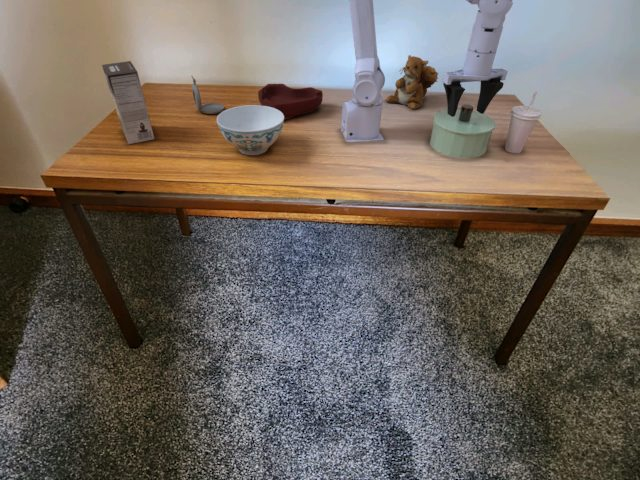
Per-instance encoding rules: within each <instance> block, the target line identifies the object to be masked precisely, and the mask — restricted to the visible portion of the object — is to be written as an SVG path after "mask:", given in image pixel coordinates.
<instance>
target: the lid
mask: <svg viewBox="0 0 640 480" xmlns="http://www.w3.org/2000/svg"><path fill="white" fill-rule="evenodd" d="M447 113H448V108H447V109H446V108H445V109H442V110H439V111H437V112H435V113H434V114H433V118H432V120H433V123H434V122H435V123H436V124H437V125H438V126H439V127H441V128H443V129H446V130H448V131H452V132H455V133H460V134H469V135H478V134H485V133H489V132H491V131H492V132H493V131H494V130H495V129H496V127H497V123H496V121H495V120H494V119H493V118H492V117H491V116H489V115H487V114H485V113H484V114H481V113H479V112H478V111H476V110H474V106H473V105H472V104H462V105H461V107H460V108H457V112H456V114H455V117H451V116H450V115H449V114H447Z"/></svg>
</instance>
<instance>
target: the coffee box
mask: <svg viewBox="0 0 640 480" xmlns="http://www.w3.org/2000/svg"><path fill="white" fill-rule="evenodd" d="M101 67H102V70H103V74H104V77H105V79H106V83H107V87H108V90H109V93H110V96H111V100H112V102H113V106H114V108H115V111H116V115H117V118H118V120H119V124H120V127H121V129H122V132H123V134H124V137H125V139H126V142H127V144H128V145H134V144H138V143H144V142H147V141H152V140H155V139H156V138H155V134H154V131H153V126H152V123H151V119H150V116H149V112H148V108H147V104H146V99H145V96H144V92H143V88H142V83H141V81H140V80H141V79H140V76H139V72H138V70H137V69H136V67H135V66H134V64H133V63H132V61H131V60H128V61H122V62H121V61H120V62H113V63H106V64H101Z"/></svg>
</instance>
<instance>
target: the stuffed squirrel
mask: <svg viewBox="0 0 640 480" xmlns="http://www.w3.org/2000/svg"><path fill="white" fill-rule="evenodd" d="M428 64H429V60H423V59H422V58H420V57H418V56H412V55H411V54H409V55H407V60H406V63H405V65H404V67H403V66H402V68H401V69H399V72H400V75H402V74H403V73H404V75H403V76H402V77H400V78H399V79H397V80H396V81H395V88H396V89H395V91H394V94H393V95H388V96H387V97H386V98H385V101H386V103H389V104H391V103H392V104H393V103H399V104H400V105H401V104H402V105H404V106H407V107H408V108H409V109H410V110H413V111H414V110H417V109H419V108H420V107H421V106H422V104H423V100H424V98H426V95H427V93H428V89H430V88H432V86H433V85H435V83H436V82H437V83H438V79H439V77H438V76H439V72H437V71H436V68H434V67H432V66H431V65H428Z"/></svg>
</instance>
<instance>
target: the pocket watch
mask: <svg viewBox="0 0 640 480" xmlns="http://www.w3.org/2000/svg"><path fill="white" fill-rule="evenodd" d="M191 78H192V83H193V84H192V85H191V91H192V96H193V101H194V106H195V107H196V109H197V111H200V112H201V113H202V114H206V115H215V114H220V113H221V112H223V111H225V110H224V109H225V106H224V105H223V104H221V103H217V102H209V103H205V104H202V98H201V94H200V89H199V87H198V85H197V83H196V82H197V81H196V79H195V77H194V76H193V75H191Z"/></svg>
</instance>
